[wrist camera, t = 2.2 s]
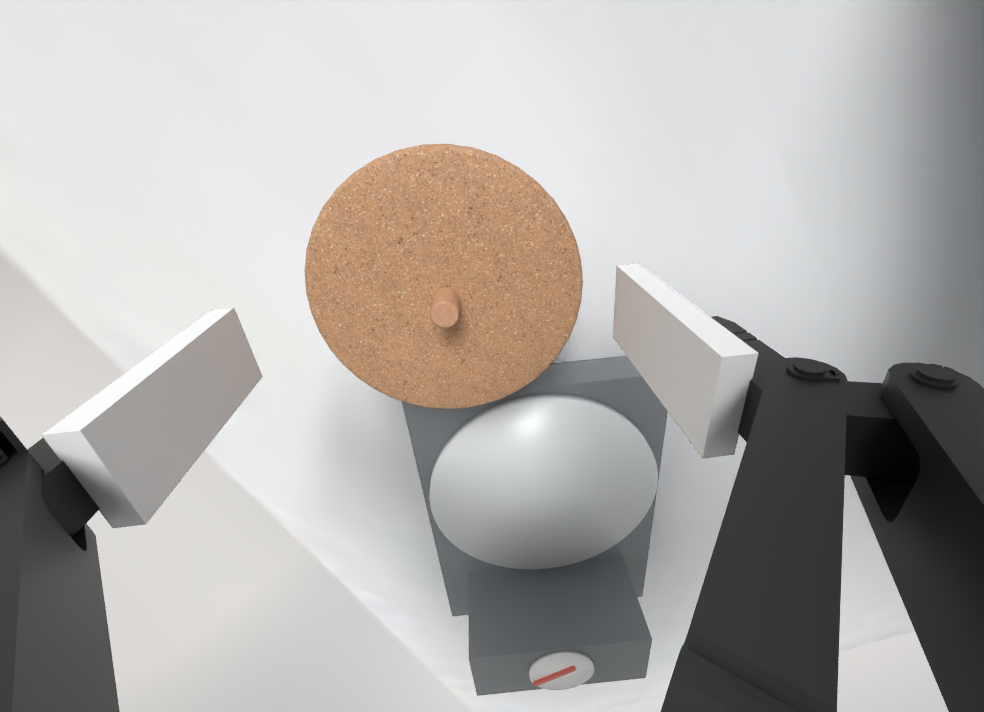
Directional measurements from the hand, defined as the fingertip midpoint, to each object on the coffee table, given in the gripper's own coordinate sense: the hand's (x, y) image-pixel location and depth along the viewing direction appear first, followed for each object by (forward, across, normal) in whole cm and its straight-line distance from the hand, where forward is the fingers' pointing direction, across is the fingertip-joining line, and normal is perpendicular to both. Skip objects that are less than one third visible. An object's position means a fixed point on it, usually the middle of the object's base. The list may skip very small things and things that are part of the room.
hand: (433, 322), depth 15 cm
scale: (+10, +5, -19) cm, 22 cm away
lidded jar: (+10, +1, 0) cm, 10 cm away
